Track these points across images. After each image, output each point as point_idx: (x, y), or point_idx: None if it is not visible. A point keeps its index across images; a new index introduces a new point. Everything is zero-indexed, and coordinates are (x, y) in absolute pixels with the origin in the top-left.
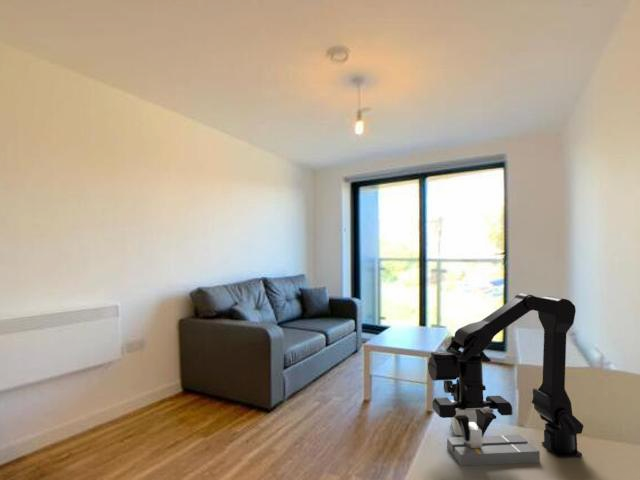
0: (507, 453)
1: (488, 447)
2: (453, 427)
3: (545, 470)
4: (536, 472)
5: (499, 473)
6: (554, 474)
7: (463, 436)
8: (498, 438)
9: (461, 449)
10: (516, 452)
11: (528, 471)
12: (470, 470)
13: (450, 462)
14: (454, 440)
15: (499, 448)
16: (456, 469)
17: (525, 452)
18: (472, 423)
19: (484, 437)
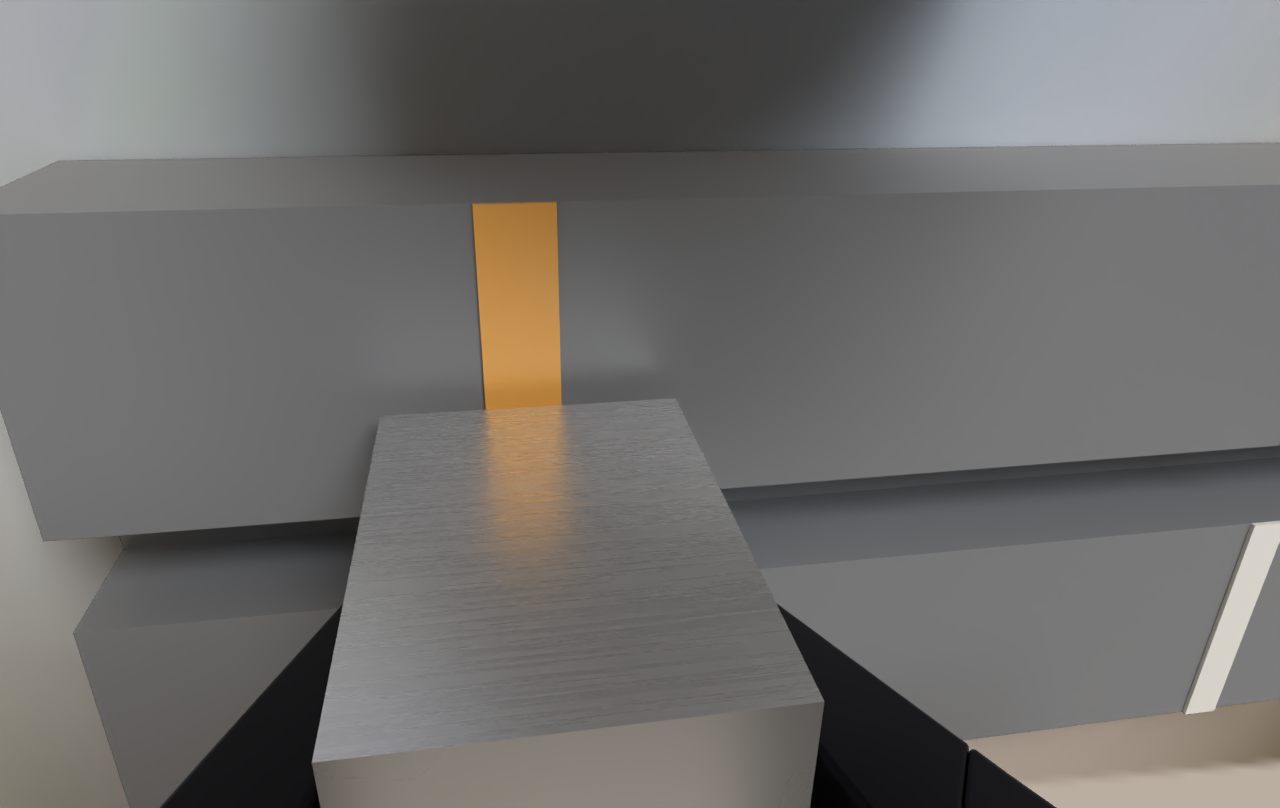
0: (999, 727)
1: (802, 621)
2: None
3: (1234, 713)
4: (1111, 750)
5: None
6: (1254, 764)
7: (375, 460)
8: (1230, 304)
9: (217, 703)
10: (1145, 710)
11: (1043, 741)
12: None
13: (34, 628)
14: (146, 364)
15: (972, 639)
16: (102, 773)
17: (1270, 689)
18: (696, 798)
19: (977, 249)
